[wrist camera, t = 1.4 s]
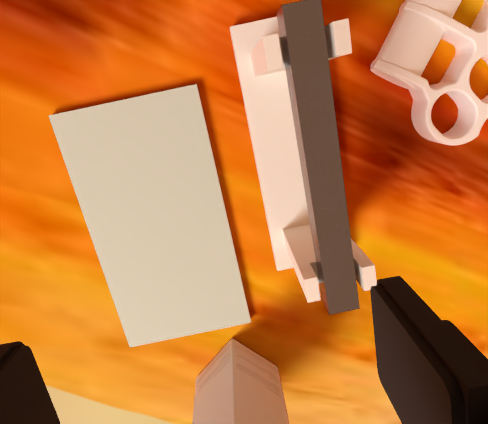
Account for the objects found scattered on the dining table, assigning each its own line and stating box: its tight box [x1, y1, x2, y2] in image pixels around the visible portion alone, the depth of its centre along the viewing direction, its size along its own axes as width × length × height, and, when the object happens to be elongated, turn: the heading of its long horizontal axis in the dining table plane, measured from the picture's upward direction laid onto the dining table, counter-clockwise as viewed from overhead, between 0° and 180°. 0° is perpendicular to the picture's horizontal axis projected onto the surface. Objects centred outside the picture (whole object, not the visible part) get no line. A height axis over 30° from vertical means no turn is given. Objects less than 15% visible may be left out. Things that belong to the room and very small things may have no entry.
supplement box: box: [192, 338, 289, 424], centre depth 40 cm, size 7×7×13 cm
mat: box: [49, 84, 251, 347], centre depth 39 cm, size 26×14×1 cm, turn 11°
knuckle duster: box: [370, 0, 488, 145], centre depth 35 cm, size 3×18×15 cm
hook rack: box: [230, 17, 377, 303], centre depth 32 cm, size 24×8×12 cm, turn 11°
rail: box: [277, 0, 360, 315], centre depth 28 cm, size 22×2×2 cm, turn 11°
